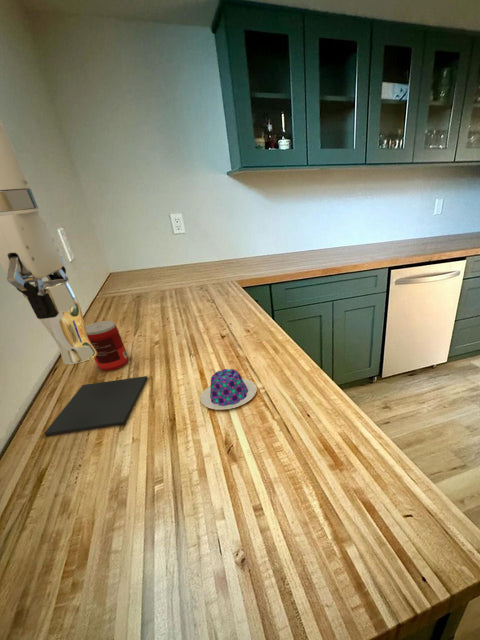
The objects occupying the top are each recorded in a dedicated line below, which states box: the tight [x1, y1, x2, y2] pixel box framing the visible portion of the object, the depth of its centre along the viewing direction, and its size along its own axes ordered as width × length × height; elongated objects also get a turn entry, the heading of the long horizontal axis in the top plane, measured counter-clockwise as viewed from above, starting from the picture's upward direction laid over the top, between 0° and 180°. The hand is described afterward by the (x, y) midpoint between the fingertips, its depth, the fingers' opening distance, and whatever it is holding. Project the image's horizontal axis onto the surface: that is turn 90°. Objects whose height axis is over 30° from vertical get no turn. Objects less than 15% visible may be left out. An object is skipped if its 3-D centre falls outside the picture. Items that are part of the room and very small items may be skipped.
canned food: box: [85, 320, 129, 372], centre depth 88 cm, size 8×8×11 cm
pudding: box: [200, 368, 258, 411], centre depth 71 cm, size 12×12×5 cm
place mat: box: [44, 375, 148, 437], centre depth 74 cm, size 15×18×1 cm
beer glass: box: [31, 279, 97, 366], centre depth 64 cm, size 7×7×15 cm
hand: (58, 309), depth 63 cm, fingers closed on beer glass, 7 cm apart
